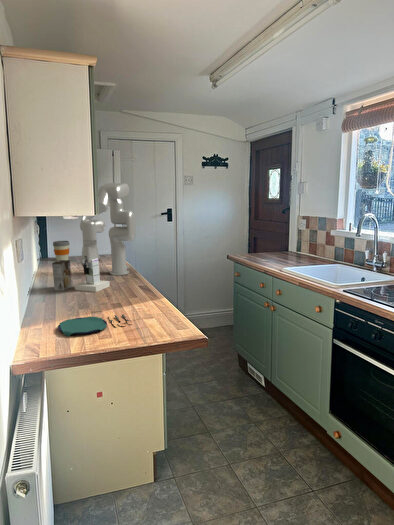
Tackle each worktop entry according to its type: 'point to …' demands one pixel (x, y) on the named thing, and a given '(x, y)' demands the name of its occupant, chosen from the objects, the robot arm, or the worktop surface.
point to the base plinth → (92, 286)
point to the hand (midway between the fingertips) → (91, 272)
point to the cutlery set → (83, 325)
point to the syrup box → (93, 272)
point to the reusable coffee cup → (61, 250)
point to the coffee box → (62, 275)
